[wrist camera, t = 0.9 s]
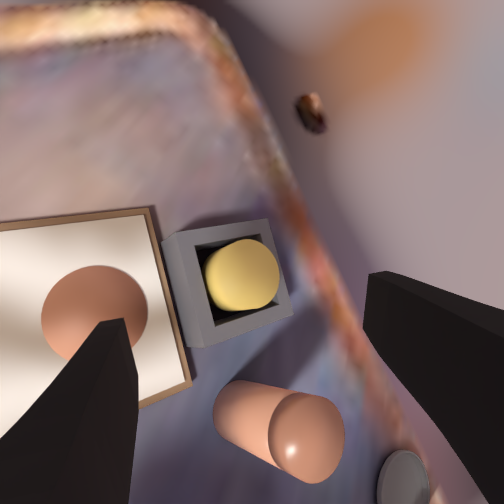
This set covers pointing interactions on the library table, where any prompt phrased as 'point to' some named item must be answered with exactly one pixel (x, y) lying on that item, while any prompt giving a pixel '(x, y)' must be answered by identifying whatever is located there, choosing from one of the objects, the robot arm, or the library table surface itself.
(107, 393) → the robot arm
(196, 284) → the button base
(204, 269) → the button
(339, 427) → the brown cylinder
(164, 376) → the colouring board
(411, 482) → the pocket watch
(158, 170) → the library table surface
